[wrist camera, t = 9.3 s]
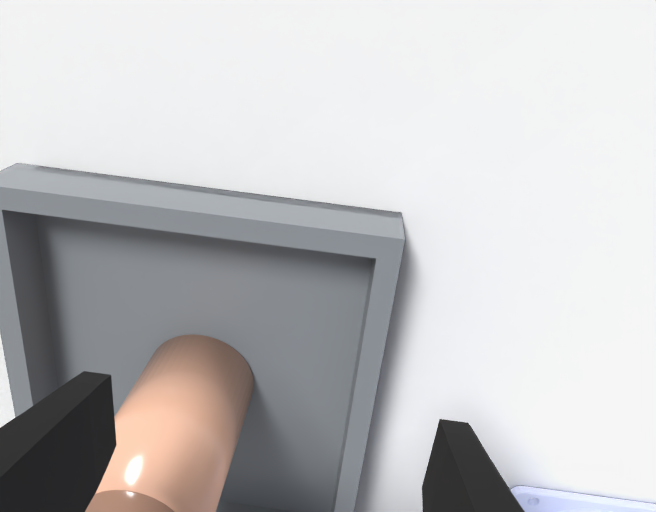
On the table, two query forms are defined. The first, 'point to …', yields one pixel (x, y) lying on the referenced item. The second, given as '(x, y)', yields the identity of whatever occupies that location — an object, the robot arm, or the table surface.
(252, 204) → the tray
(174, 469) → the peach cylinder
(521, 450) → the table surface
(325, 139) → the table surface
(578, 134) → the table surface
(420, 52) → the table surface
